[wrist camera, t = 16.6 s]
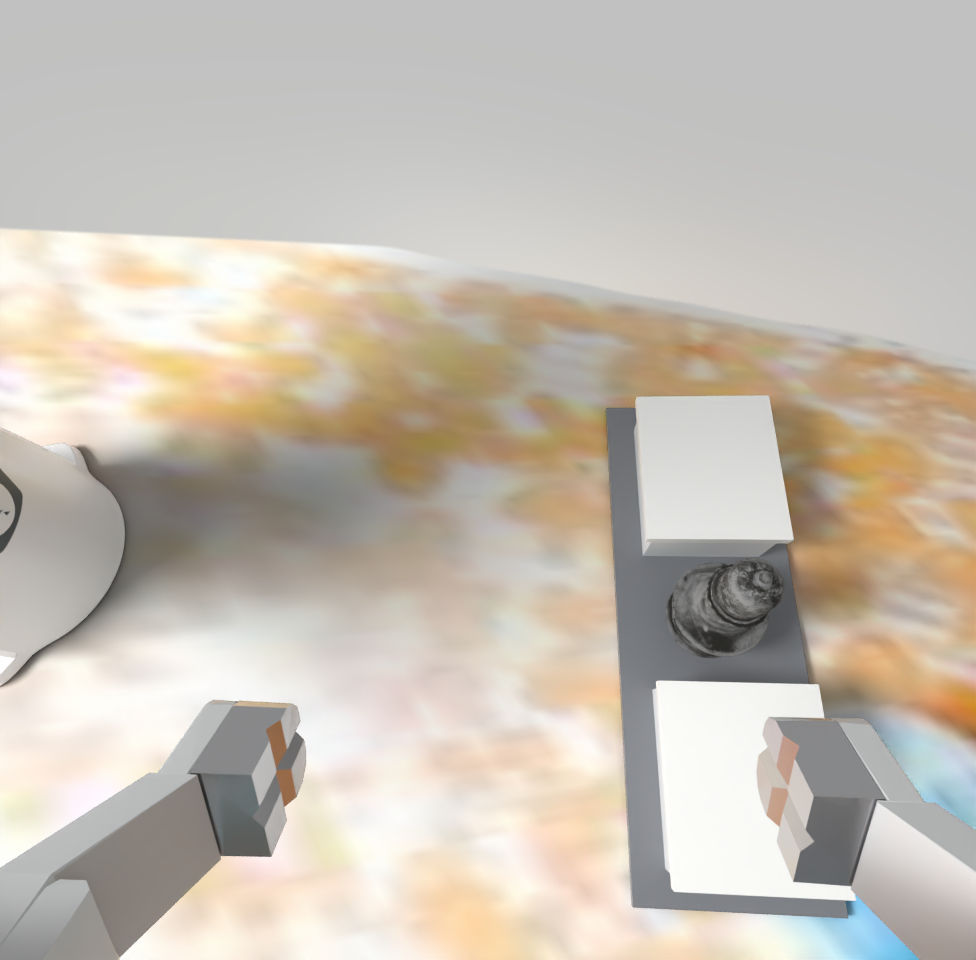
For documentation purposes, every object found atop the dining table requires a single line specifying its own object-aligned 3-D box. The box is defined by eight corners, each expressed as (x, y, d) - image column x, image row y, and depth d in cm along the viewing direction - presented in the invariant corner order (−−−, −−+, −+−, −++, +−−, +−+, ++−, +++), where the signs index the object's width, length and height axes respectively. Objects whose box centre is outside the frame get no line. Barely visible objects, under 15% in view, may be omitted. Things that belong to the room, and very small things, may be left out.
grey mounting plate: (631, 905, 36) (647, 932, 31) (605, 411, 48) (614, 375, 43) (844, 915, 35) (895, 946, 30) (760, 409, 47) (787, 372, 42)
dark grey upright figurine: (723, 563, 42) (790, 503, 31) (766, 644, 40) (855, 610, 29) (646, 592, 42) (687, 542, 31) (685, 676, 40) (744, 654, 29)
